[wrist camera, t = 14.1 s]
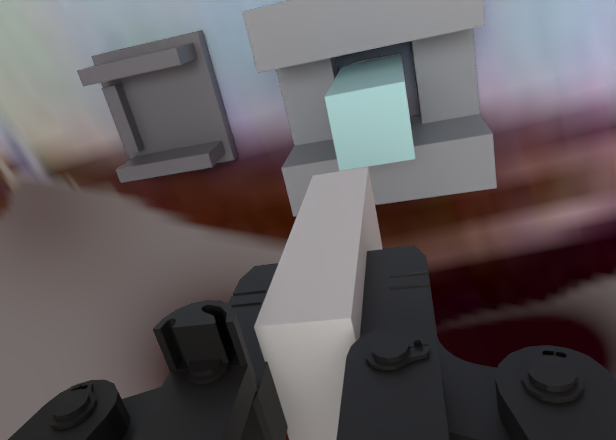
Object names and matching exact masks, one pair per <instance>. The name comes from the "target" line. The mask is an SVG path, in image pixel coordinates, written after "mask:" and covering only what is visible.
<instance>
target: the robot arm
mask: <svg viewBox="0 0 616 440" xmlns="http://www.w3.org/2000/svg"><path fill="white" fill-rule="evenodd" d="M153 331H154V333H155V336H156V338H157V341H158V343H159V345H160V348H161V350H162V352H163V355H164V358H165V360H166V362H167V365H168V367H169V370H170V372H169V374H168V376H167V378H166V380H165V381H164V383H163V385H162V387H159V388H157V389H153V390H150V391H147V392H144V393H141V394H137V395H134V396H131V397H128V398H124V399H121V397H120V395H119V393H118V391H117V389H116V387H115V385H114V383H111V382H109V381H107V380H90V381H87V382H84V383H81V384H77V385H75V386H72V387H71V388H69V389H67V390H65V391H63V392H61V393H59V394H58V395H57V396H56V397H54V398H53V399H52V400H50V401H49V402H48V403H47V404H45V405H44V406H43V407H42V408H41V409H40V410H39V411H38V412H37V413H36V414H35V415H34V416H33V417H32V418H31V419H29V420H28V421H27V422H26V423H25V424H24V425H23V426H22V427H21V428H20V429H19V430H18V431H17V432H16V433H14V434H13V436H11V437H10V438H9V439H8V440H285V438H286V434H287V433H288V437H289V440H616V379H615V378H614V377H613V376H612V375H611V374H610V373H609V372H608V371H607V370H606V369H605V368H604V367H603V366H601V365H600V364H599V363H597V362H596V361H595V360H593V359H592V358H591V357H589V356H587V355H585V354H582V353H579V352H577V351H574V350H571V349H569V348H563V347H556V346H548V345H544V346H534V347H526V348H524V349H521V350H518V351H516V352H513V353H511V354H509V355H508V356H507V357H506V358H505V359H504V360H503V361H502V362H501V363H500V364H499V365H498V368H494V367H488V366H482V365H478V364H474V363H470V362H466V361H464V360H462V359H459V358H457V357H455V356H453V355H452V354H451V353H449V352H448V351H447V350H445V349H444V347H443V346H442V345H441V344H440V342H439V340H438V337H437V332H436V325H435V317H434V310H433V303H432V295H431V288H430V281H429V274H428V267H427V259H426V256H425V255H424V254H423V253H422V252H421V251H420V250H419V249H418V248H417V247H416V246H414V245H413V246H405V247H397V248H388V249H383V248H382V243H381V237H380V231H379V226H378V220H377V214H376V209H375V203H374V197H373V192H372V186H371V180H370V175H369V169H368V167H365V168H358V169H352V170H346V171H339V172H333V173H326V174H320V175H314V176H312V179H311V181H310V184H309V187H308V189H307V192H306V194H305V197H304V199H303V202H302V205H301V207H300V210H299V212H298V215H297V217H296V220H295V223H294V225H293V228H292V230H291V233H290V235H289V238H288V241H287V243H286V246H285V248H284V251H283V253H282V256H281V259H280V261H279V263H277V264H269V265H261V266H254V267H253V268H252V269H251V270H250V271H249V272H248V273H247V274H246V275H244V276H243V277H242V278H241V279H240V281H239V283H238V285H237V287H236V289H235V291H234V293H233V297H231V299H230V301H229V303H228V304H227V303H225V302H222V301H208V300H207V301H202V302H197V303H192V304H190V305H187V306H185V307H182V308H180V309H177V310H175V311H174V312H172V313H171V314H169V315H168V316H166V317H165V318H164V319H162V320H161V321H160V322H159V323H158V324H157V325H156V326H155V328H154V329H153Z"/></svg>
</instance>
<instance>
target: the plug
mask: <svg viewBox="0 0 616 440" xmlns="http://www.w3.org/2000/svg"><path fill="white" fill-rule="evenodd" d="M325 102H326V107H327V112H328V117H329V122H330V127H331V132H332V137H333V142H334V147H335V152H336V157H337V161H338V166H339V171H343V170H349V169H355V168H362V167H368V166H375V165H381V164H387V163H394V162H400V161H406V160H413V159H415V153H414V145H413V137H412V130H411V122H410V115H409V107H408V100H407V93H406V86H405V78H404V71H403V64H402V57H401V54H399V55H397V54H392V55H387V56H383V57H378V58H373V59H368V60H363V61H358V62H353V63H351V64H350V65H345V66H342V67H341V69H340V70H339V72H338V74H337V76H336V77H335V79H334V81H333V83H332V84H331V86H330V88H329V90H328V91H327V93H326V95H325Z"/></svg>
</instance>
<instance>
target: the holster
mask: <svg viewBox="0 0 616 440" xmlns="http://www.w3.org/2000/svg"><path fill="white" fill-rule="evenodd" d="M92 59H93V62H94V64H95V66H92V67H88V68H85V69H82V70H78V71H77V72H78V74H79V77H80V80H81V82H82V85H83V86H87V85H91V84H96V83H100V82H101V83H102V86H103V88H102V90H103V93H104V95H105V98H106V101H107V103H108V106H109V109H110V111H111V114H112V117H113V119H114V122H115V125H116V127H117V130H118V133H119V135H120V138H121V141H122V143H123V146H124V149H125V151H126V154H128V155H129V158H130V160H129V161H127V162H126V163H124V164H123V165H121V166H120V167H118V168H117V169H116V172H117V175H118V177H119V180H120V182H121V183H122V182H128V181H134V180H140V179H146V178H152V177H158V176H164V175H170V174H176V173H182V172H187V171H193V170H199V169H205V168H211V167H213V166H214V165H215V164H216V163H221V162H227V161H232V160H235V159H236V158H237V156H238V154H237V151H236V147H235V144H234V140H233V137H232V133H231V130H230V126H229V123H228V119H227V116H226V112H225V108H224V105H223V101H222V98H221V94H220V91H219V87H218V84H217V80H216V77H215V73H214V70H213V66H212V63H211V59H210V56H209V52H208V49H207V45H206V42H205V38H204V35H203V31H202V30H201V31H197V32H192V33H188V34H184V35H180V36H176V37H171V38H167V39H163V40H159V41H154V42H150V43H146V44H142V45H137V46H133V47H129V48H125V49H120V50H116V51H112V52H108V53H104V54H99V55H95V56H92Z"/></svg>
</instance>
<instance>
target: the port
mask: <svg viewBox="0 0 616 440" xmlns="http://www.w3.org/2000/svg"><path fill="white" fill-rule="evenodd" d="M242 13H243V17H244V21H245V25H246V29H247V33H248V37H249V41H250V45H251V49H252V53H253V57H254V61H255V65H256V69H257V73H260V72H265V71H270V70H275V69H276V70H277V74H278V78H279V83H280V87H281V91H282V95H283V100H284V104H285V108H286V112H287V117H288V121H289V125H290V129H291V134H292V138H293V142H294V147H293V149H292V151H291V152H290V154H289V156H288V158H287V159H286V161H285V163H284V164H283V166H282V168H281V169H282V173H283V177H284V181H285V185H286V189H287V193H288V197H289V201H290V205H291V209H292V213H293V216H297V215H298V212H299V210H300V207H301V205H302V202H303V199H304V197H305V194H306V192H307V189H308V187H309V184H310V181H311V179H312V176H314V175H320V174H326V173H333V172H339V166H338V161H337V157H336V152H335V147H334V142H333V137H332V132H331V127H330V122H329V117H328V112H327V107H326V102H325V95H326V93H327V91H328V90H329V88H330V86H331V84H332V83H333V81H334V79H335V77H336V76H337V74H338V70H337V65H336V59H335V57H337V56H341V55H346V54H351V53H356V52H361V51H365V50H370V49H375V48H380V47H384V46H389V45H394V44H399V43H403V42H408V41H411V45H412V53H413V60H414V68H415V76H416V84H417V92H418V99H419V107H420V114H419V115H413V116H410V122H411V130H412V137H413V145H414V153H415V159H413V160H406V161H400V162H394V163H387V164H381V165H375V166H368V169H369V175H370V180H371V186H372V192H373V197H374V203H375V205H378V204H386V203H393V202H400V201H407V200H414V199H421V198H428V197H436V196H443V195H450V194H457V193H464V192H471V191H479V190H486V189H493V188H497V186H496V172H495V158H494V144H493V133H492V132H491V130H490V129H489V127H488V126H487V124H486V123H485V121H484V120H483V118H482V117H481V115H480V111H479V99H478V87H477V74H476V62H475V50H474V37H473V28H475V27H480V26H485V19H484V5H483V0H289V1H285V2H280V3H276V4H272V5H268V6H264V7H260V8H255V9H251V10H247V11H243V12H242ZM362 168H365V167H362ZM355 169H358V168H355ZM349 170H352V169H349ZM343 171H346V170H343Z"/></svg>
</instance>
